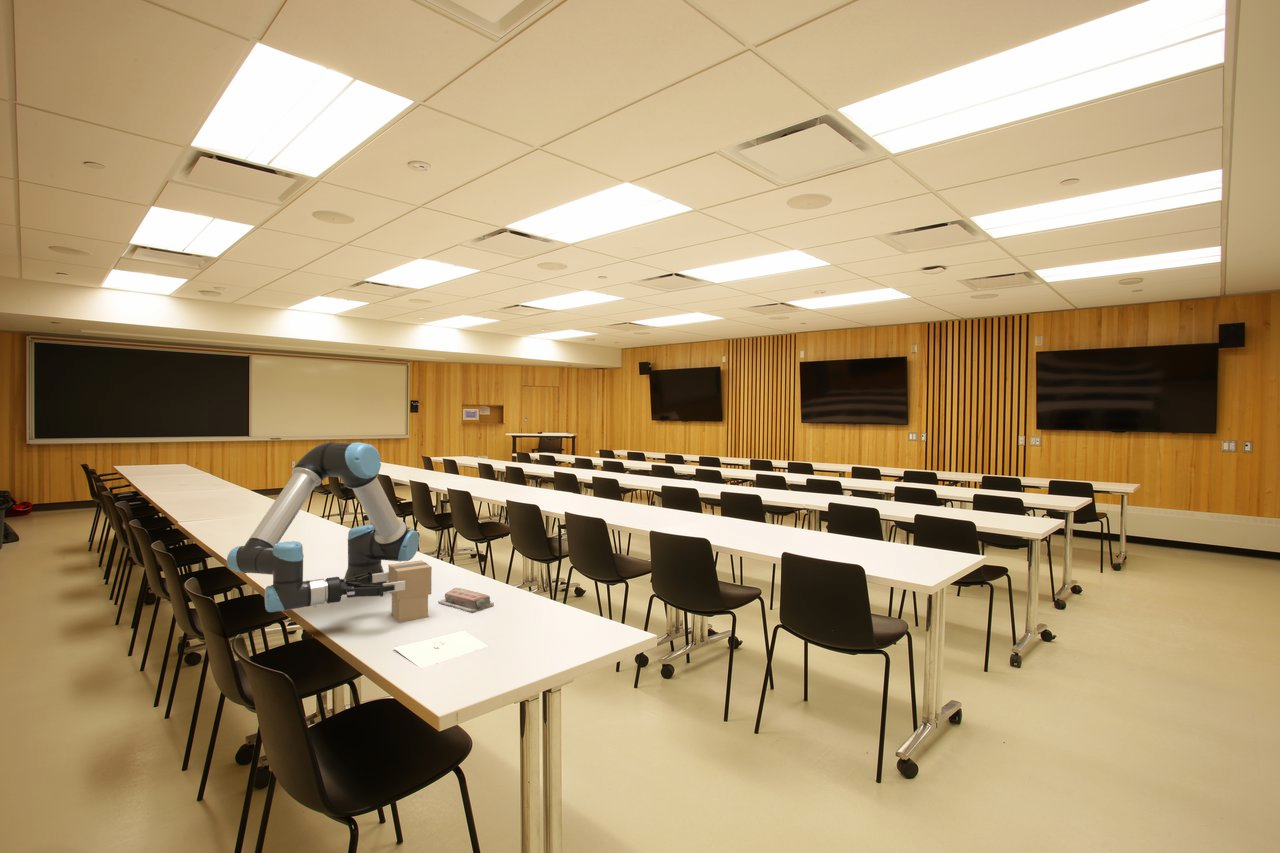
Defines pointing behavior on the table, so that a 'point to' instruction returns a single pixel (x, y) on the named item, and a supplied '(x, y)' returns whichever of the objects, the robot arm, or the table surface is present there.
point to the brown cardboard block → (411, 578)
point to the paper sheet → (440, 648)
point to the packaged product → (466, 600)
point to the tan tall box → (410, 608)
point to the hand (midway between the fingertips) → (399, 580)
